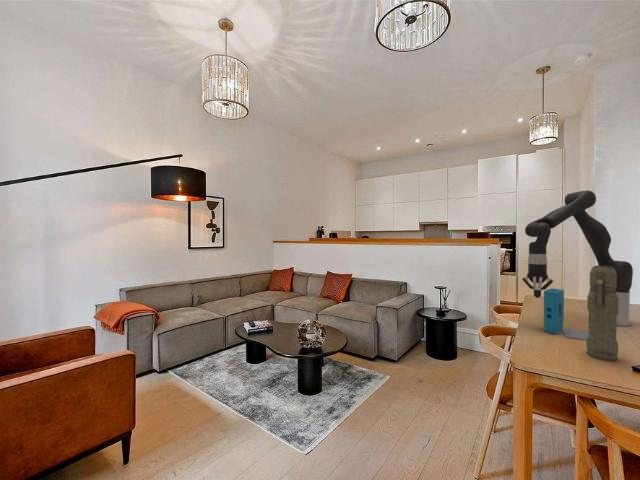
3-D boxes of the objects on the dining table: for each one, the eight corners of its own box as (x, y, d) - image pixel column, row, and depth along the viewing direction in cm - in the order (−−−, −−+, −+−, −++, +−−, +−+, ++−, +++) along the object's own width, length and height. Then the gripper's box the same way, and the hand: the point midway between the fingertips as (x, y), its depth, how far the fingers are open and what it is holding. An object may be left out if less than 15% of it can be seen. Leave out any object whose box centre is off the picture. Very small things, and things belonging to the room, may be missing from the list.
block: (555, 335, 138) (556, 292, 138) (542, 332, 142) (543, 291, 142) (563, 330, 145) (564, 289, 145) (551, 327, 149) (552, 288, 149)
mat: (561, 328, 149) (561, 327, 149) (602, 333, 140) (602, 332, 140) (565, 337, 135) (566, 336, 135) (612, 344, 127) (612, 343, 127)
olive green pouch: (585, 357, 114) (586, 266, 113) (587, 348, 122) (588, 264, 121) (617, 364, 107) (619, 268, 107) (618, 355, 116) (619, 265, 115)
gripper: (553, 262, 147) (553, 297, 147) (521, 261, 154) (521, 294, 154) (555, 264, 140) (554, 300, 141) (521, 263, 148) (521, 297, 148)
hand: (537, 297), depth 147 cm, fingers closed
